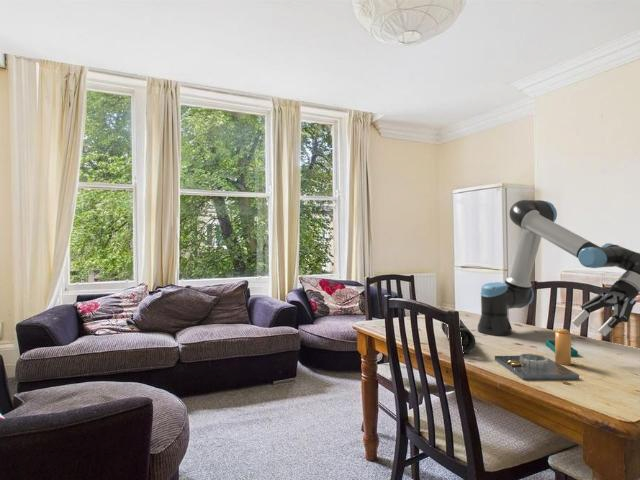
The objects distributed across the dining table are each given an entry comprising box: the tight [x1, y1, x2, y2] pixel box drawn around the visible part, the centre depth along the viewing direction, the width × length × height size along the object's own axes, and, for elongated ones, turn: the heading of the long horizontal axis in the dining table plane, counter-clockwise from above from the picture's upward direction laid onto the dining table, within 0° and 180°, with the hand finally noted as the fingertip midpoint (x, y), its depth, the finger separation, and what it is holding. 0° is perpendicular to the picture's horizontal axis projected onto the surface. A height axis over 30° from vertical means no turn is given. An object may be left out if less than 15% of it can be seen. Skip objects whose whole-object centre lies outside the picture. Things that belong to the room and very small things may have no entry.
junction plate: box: [494, 353, 580, 381], centre depth 132 cm, size 20×18×4 cm
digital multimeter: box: [545, 339, 579, 357], centre depth 153 cm, size 7×15×3 cm, turn 165°
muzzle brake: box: [441, 319, 476, 355], centre depth 162 cm, size 10×28×10 cm, turn 170°
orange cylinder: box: [554, 328, 572, 366], centre depth 138 cm, size 5×5×12 cm
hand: (587, 328), depth 137 cm, fingers open, 13 cm apart
